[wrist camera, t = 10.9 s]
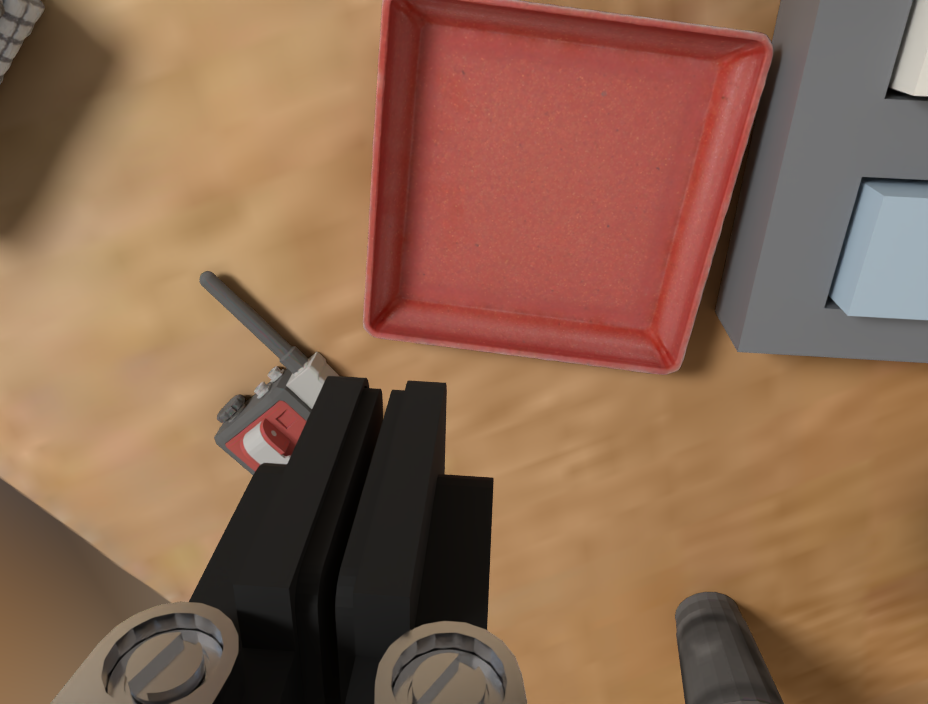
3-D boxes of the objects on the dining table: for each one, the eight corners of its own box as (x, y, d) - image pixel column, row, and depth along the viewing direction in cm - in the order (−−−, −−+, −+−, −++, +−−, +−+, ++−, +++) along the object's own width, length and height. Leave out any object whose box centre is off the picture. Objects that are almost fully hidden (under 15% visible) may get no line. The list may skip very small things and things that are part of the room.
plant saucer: (760, 28, 36) (782, 34, 33) (669, 352, 45) (680, 379, 42) (392, -21, 36) (381, -19, 33) (371, 312, 45) (361, 337, 42)
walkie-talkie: (448, 471, 50) (222, 253, 43) (442, 514, 46) (193, 282, 40) (355, 533, 53) (132, 338, 47) (342, 578, 49) (97, 372, 43)
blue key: (840, 167, 37) (884, 196, 33) (959, 173, 37) (1019, 202, 32) (810, 276, 40) (847, 315, 35) (921, 282, 39) (972, 322, 35)
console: (811, -146, 32) (858, -163, 28) (1142, -135, 32) (1242, -150, 28) (714, 311, 43) (737, 351, 38) (963, 325, 42) (1015, 368, 38)
